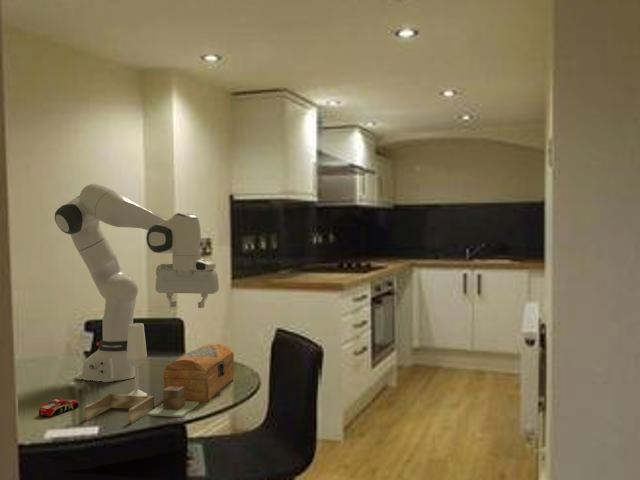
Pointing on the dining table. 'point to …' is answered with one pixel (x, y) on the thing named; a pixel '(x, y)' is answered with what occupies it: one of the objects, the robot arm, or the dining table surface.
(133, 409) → the birch u-shaped frame
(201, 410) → the dining table surface
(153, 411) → the felt mat
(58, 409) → the race car
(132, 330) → the champagne flute
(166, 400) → the walnut block
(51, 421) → the dining table surface
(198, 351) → the wooden box
